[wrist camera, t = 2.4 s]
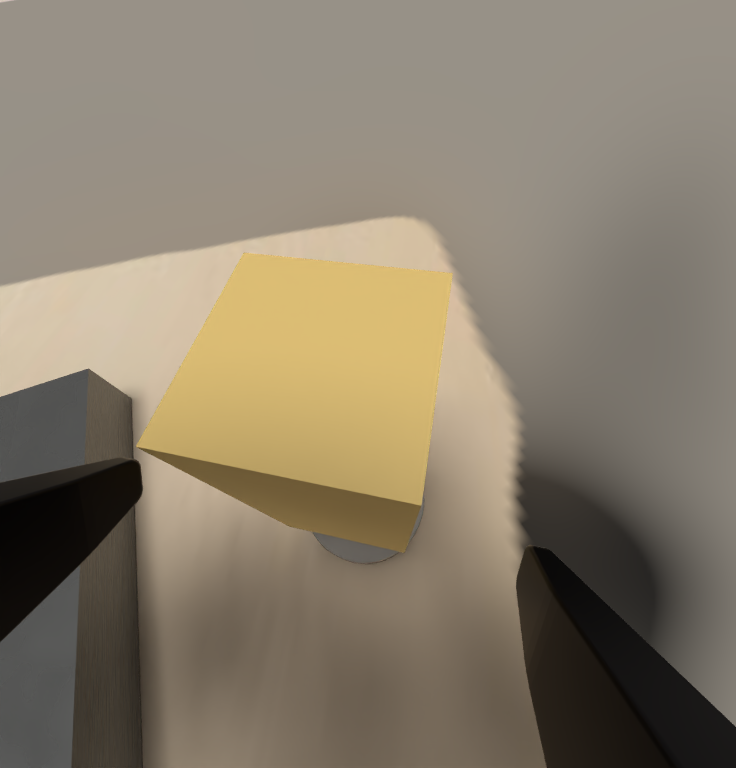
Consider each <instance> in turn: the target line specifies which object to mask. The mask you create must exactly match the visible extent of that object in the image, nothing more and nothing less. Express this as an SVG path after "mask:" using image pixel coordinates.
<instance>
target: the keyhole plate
mask: <svg viewBox="0 0 736 768" xmlns="http://www.w3.org/2000/svg"><path fill="white" fill-rule="evenodd" d="M118 457H125V458H130V459H133V446H132V413H131V398H130V397H129V396H127V395H126V394H124V393H123V392H121V391H120V390H119V389H117V388H116V387H114V386H113V385H111V384H110V383H109V382H107V381H106V380H104V379H103V378H101V377H100V376H98V375H97V374H96V373H94V372H93V371H91V370H90V369H86V370H83V371H80V372H76V373H73V374H70V375H67V376H64V377H61V378H58V379H55V380H52V381H48V382H45V383H42V384H39V385H36V386H33V387H30V388H27V389H24V390H20V391H17V392H14V393H11V394H8V395H5V396H2V397H0V482H5V481H9V480H14V479H19V478H24V477H28V476H33V475H38V474H42V473H47V472H52V471H57V470H61V469H66V468H71V467H75V466H80V465H85V464H90V463H94V462H99V461H104V460H108V459H113V458H118ZM0 768H142V740H141V708H140V675H139V642H138V609H137V577H136V544H135V511H134V506H133V507H132V508H131V509H130V511H129V512H128V513H127V514H126V515H125V516H124V517H123V519H122V520H121V521H120V522H119V523H118V524H117V525H116V526H115V528H114V529H113V530H112V531H111V532H110V533H109V534H108V535H107V537H106V538H105V539H104V540H103V541H102V542H101V543H100V545H99V546H98V547H97V548H96V549H95V550H94V551H93V552H92V553H91V554H90V555H89V556H88V557H87V558H86V559H85V560H84V561H83V562H82V563H81V564H80V565H79V566H78V567H77V568H76V569H75V570H74V571H73V572H72V573H71V574H70V575H69V576H68V577H67V578H66V579H65V580H64V581H63V582H62V583H61V584H60V585H59V586H58V587H57V588H56V589H55V590H54V591H53V592H52V593H51V594H50V595H49V596H48V597H47V598H46V599H44V600H43V601H42V602H41V603H40V604H39V605H38V606H37V607H36V608H35V609H34V610H33V611H32V612H31V613H30V614H29V615H28V616H27V617H26V618H25V619H24V620H23V621H22V622H21V623H20V624H19V625H18V626H17V627H16V628H15V629H14V630H13V631H12V632H11V633H9V634H8V635H7V636H6V637H5V638H4V639H3V640H2V641H1V642H0Z"/></svg>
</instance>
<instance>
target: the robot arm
mask: <svg viewBox="0 0 736 768" xmlns="http://www.w3.org/2000/svg"><path fill="white" fill-rule="evenodd" d="M142 491H143V485H142V475H141V466H140V463H139V462H138V461H137V460H134V459H130V458H125V457H118V458H113V459H108V460H104V461H99V462H94V463H90V464H85V465H80V466H75V467H71V468H66V469H61V470H57V471H52V472H47V473H42V474H38V475H33V476H28V477H24V478H19V479H14V480H9V481H5V482H0V642H1V641H2V640H3V639H4V638H5V637H6V636H7V635H8V634H9V633H11V632H12V631H13V630H14V629H15V628H16V627H17V626H18V625H19V624H20V623H21V622H22V621H23V620H24V619H25V618H26V617H27V616H28V615H29V614H30V613H31V612H32V611H33V610H34V609H35V608H36V607H37V606H38V605H39V604H40V603H41V602H42V601H43V600H44V599H46V598H47V597H48V596H49V595H50V594H51V593H52V592H53V591H54V590H55V589H56V588H57V587H58V586H59V585H60V584H61V583H62V582H63V581H64V580H65V579H66V578H67V577H68V576H69V575H70V574H71V573H72V572H73V571H74V570H75V569H76V568H77V567H78V566H79V565H80V564H81V563H82V562H83V561H84V560H85V559H86V558H87V557H88V556H89V555H90V554H91V553H92V552H93V551H94V550H95V549H96V548H97V547H98V546H99V545H100V543H101V542H102V541H103V540H104V539H105V538H106V537H107V535H108V534H109V533H110V532H111V531H112V530H113V529H114V528H115V526H116V525H117V524H118V523H119V522H120V521H121V520H122V519H123V517H124V516H125V515H126V514H127V513H128V512H129V511H130V509H131V508H132V507H133V506H134V505H135V504H136V503H137V502H138V500H139V499H140V497H141V495H142ZM516 590H517V599H518V607H519V616H520V624H521V633H522V641H523V650H524V659H525V666H526V673H527V678H528V683H529V689H530V693H531V698H532V702H533V707H534V712H535V716H536V721H537V725H538V730H539V734H540V739H541V744H542V748H543V753H544V757H545V762H546V766H547V768H736V727H735V726H734V725H733V724H732V723H731V722H730V721H729V720H728V719H727V718H726V717H725V716H724V715H723V714H722V713H721V712H720V711H718V710H717V709H716V708H715V707H714V706H713V705H712V704H711V703H710V702H709V701H708V700H707V699H706V698H705V697H704V696H703V695H702V694H701V693H700V692H699V691H698V690H696V688H694V687H693V686H692V685H691V684H690V683H689V682H688V681H687V680H686V679H685V678H684V677H683V676H682V675H681V674H679V672H678V671H677V670H676V669H675V668H674V667H672V666H671V665H670V664H669V663H668V662H667V661H666V660H665V659H664V658H663V657H662V656H661V655H660V654H659V653H658V652H657V651H656V650H655V649H654V648H653V647H652V646H650V645H649V644H648V643H647V642H646V641H645V640H644V639H643V638H642V637H641V636H640V635H639V634H638V633H637V632H636V631H635V630H634V629H632V627H631V626H630V625H628V624H627V623H626V622H625V621H624V620H623V619H622V618H621V617H620V616H619V615H618V614H617V613H616V612H615V611H614V610H613V609H611V607H610V606H608V605H607V604H606V603H605V602H604V601H603V600H602V599H601V598H600V597H599V596H598V595H597V594H596V593H595V592H594V591H593V590H592V589H591V588H590V587H588V585H587V584H585V583H584V582H583V581H582V580H581V579H580V578H579V577H578V576H577V575H576V574H575V573H574V572H573V571H572V570H571V569H570V568H569V567H568V566H567V565H566V564H565V563H564V562H562V561H561V560H560V559H559V558H558V557H557V556H556V555H555V554H554V553H553V552H552V551H551V550H549V549H547V548H542V547H538V546H533V545H529V546H527V547H526V549H525V551H524V554H523V557H522V561H521V564H520V568H519V571H518V575H517V580H516Z"/></svg>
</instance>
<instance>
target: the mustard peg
mask: <svg viewBox="0 0 736 768" xmlns="http://www.w3.org/2000/svg"><path fill="white" fill-rule="evenodd" d="M452 274H453V273H445V272H435V271H425V270H415V269H404V268H394V267H384V266H374V265H363V264H353V263H343V262H333V261H323V260H312V259H302V258H292V257H282V256H272V255H261V254H251V253H243V255H242V257H241V259H240V260H239V262H238V264H237V266H236V268H235V269H234V271H233V273H232V275H231V277H230V278H229V280H228V282H227V284H226V286H225V287H224V289H223V291H222V293H221V295H220V296H219V298H218V300H217V302H216V304H215V305H214V307H213V309H212V311H211V313H210V314H209V316H208V318H207V320H206V322H205V323H204V325H203V327H202V329H201V330H200V332H199V334H198V336H197V338H196V339H195V341H194V343H193V345H192V347H191V348H190V350H189V352H188V354H187V356H186V357H185V359H184V361H183V363H182V365H181V366H180V368H179V370H178V372H177V374H176V375H175V377H174V379H173V381H172V383H171V384H170V386H169V388H168V390H167V391H166V393H165V395H164V397H163V399H162V400H161V402H160V404H159V406H158V408H157V409H156V411H155V413H154V415H153V417H152V418H151V420H150V422H149V424H148V426H147V427H146V429H145V431H144V433H143V435H142V436H141V438H140V440H139V442H138V444H137V445H136V447H138V448H139V449H141V450H143V451H145V452H147V453H149V454H151V455H153V456H155V457H157V458H159V459H161V460H163V461H164V462H166V463H168V464H170V465H172V466H174V467H176V468H178V469H180V470H182V471H184V472H186V473H188V474H189V475H191V476H193V477H195V478H197V479H199V480H201V481H203V482H205V483H207V484H209V485H211V486H213V487H215V488H216V489H218V490H220V491H222V492H224V493H226V494H228V495H230V496H232V497H234V498H236V499H238V500H240V501H241V502H243V503H245V504H247V505H249V506H251V507H253V508H255V509H257V510H259V511H261V512H263V513H265V514H266V515H268V516H270V517H272V518H274V519H276V520H278V521H280V522H282V523H284V524H286V525H288V526H290V527H294V528H299V529H303V530H307V531H312V532H313V534H314V535H315V537H316V538H317V540H318V541H319V542H320V543H321V544H322V545H323V546H324V547H325V548H326V549H327V550H328V551H330V552H331V553H333V554H334V555H336V556H338V557H340V558H342V559H345V560H348V561H351V562H355V563H361V564H370V563H377V562H380V561H384V560H386V559H388V558H391V557H392V556H394V555H396V554H397V553H399V552H403V553H405V550H406V547H407V545H408V543H409V542H410V540H411V539H412V537H413V536H414V534H415V532H416V530H417V528H418V526H419V524H420V521H421V518H422V514H423V509H424V483H425V476H426V468H427V461H428V453H429V446H430V438H431V431H432V423H433V416H434V408H435V401H436V393H437V386H438V378H439V371H440V363H441V356H442V349H443V341H444V334H445V326H446V319H447V311H448V304H449V296H450V289H451V281H452Z"/></svg>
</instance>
